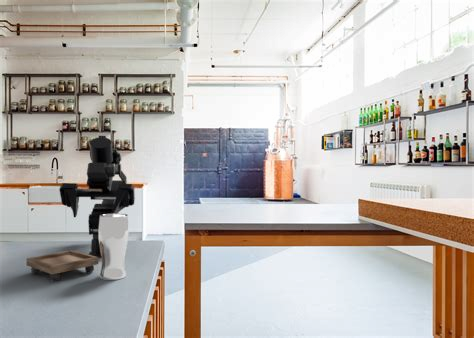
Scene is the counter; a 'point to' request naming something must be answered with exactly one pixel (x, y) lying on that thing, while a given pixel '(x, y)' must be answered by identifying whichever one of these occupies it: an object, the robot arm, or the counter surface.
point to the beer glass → (113, 245)
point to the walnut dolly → (62, 263)
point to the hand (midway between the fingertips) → (93, 216)
